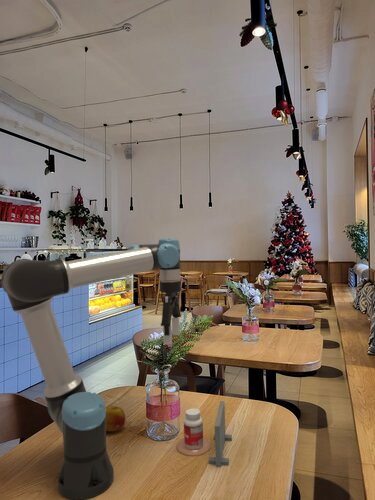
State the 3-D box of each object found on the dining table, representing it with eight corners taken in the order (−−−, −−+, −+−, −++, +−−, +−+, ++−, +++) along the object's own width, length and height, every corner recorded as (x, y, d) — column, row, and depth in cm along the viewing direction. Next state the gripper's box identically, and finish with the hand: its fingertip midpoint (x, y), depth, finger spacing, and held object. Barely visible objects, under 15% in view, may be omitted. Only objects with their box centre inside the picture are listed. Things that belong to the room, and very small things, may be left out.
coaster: (208, 457, 117) (208, 455, 117) (173, 454, 119) (173, 452, 119) (212, 439, 128) (212, 437, 128) (180, 437, 130) (180, 435, 130)
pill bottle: (183, 441, 126) (182, 408, 126) (202, 439, 126) (201, 406, 126) (185, 451, 120) (184, 416, 119) (204, 449, 120) (203, 415, 120)
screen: (228, 467, 111) (227, 426, 111) (208, 465, 112) (206, 425, 112) (232, 436, 129) (231, 401, 129) (214, 435, 130) (213, 400, 130)
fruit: (130, 425, 140) (129, 403, 140) (119, 437, 131) (118, 414, 131) (106, 422, 142) (105, 401, 142) (94, 434, 133) (93, 411, 133)
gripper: (173, 284, 124) (175, 349, 124) (186, 277, 149) (188, 331, 149) (150, 284, 125) (153, 348, 126) (168, 278, 150) (169, 331, 150)
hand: (172, 339), depth 137 cm, fingers open, 13 cm apart
